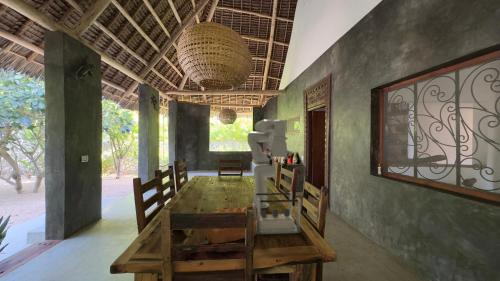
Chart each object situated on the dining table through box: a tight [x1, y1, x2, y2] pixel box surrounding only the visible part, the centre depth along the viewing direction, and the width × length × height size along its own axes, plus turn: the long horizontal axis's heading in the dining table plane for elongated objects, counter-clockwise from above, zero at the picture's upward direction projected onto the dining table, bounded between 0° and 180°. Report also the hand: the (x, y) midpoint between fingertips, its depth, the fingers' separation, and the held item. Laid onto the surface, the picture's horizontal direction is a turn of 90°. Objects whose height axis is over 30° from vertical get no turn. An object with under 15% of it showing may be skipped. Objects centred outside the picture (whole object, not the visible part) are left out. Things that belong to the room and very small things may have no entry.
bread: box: [205, 206, 257, 245], centre depth 123 cm, size 14×26×16 cm, turn 116°
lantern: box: [183, 210, 210, 245], centre depth 121 cm, size 8×17×30 cm
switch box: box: [260, 213, 295, 230], centre depth 136 cm, size 10×20×6 cm, turn 97°
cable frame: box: [252, 191, 301, 235], centre depth 135 cm, size 17×25×19 cm
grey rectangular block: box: [260, 209, 268, 217], centre depth 135 cm, size 2×3×4 cm, turn 97°
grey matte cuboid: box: [283, 208, 289, 216], centre depth 137 cm, size 2×3×4 cm, turn 97°
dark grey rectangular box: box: [272, 209, 279, 217], centre depth 136 cm, size 2×3×4 cm, turn 97°
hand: (278, 165), depth 147 cm, fingers open, 9 cm apart
